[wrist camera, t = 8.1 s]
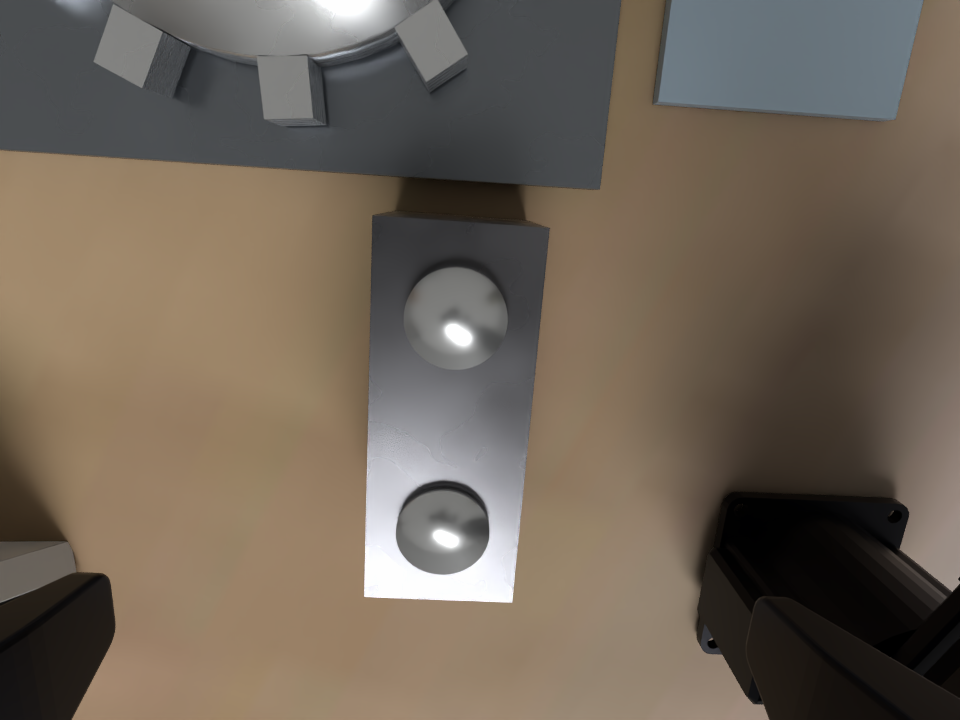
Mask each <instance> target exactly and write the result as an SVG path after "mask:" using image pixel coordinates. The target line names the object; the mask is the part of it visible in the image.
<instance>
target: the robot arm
mask: <svg viewBox="0 0 960 720" xmlns="http://www.w3.org/2000/svg"><path fill="white" fill-rule="evenodd" d="M738 504H743V506H742V508H741V509H739V510H738V511H734V509H735V507H736V506H737V505H738ZM892 511H894V512H893V513H892V515H890V516H889V517H888V515H889V513H890V512H892ZM908 518H909V511H908V509H907V507H905V506H904V505H903V504H901V503H900V502H898V501H897V500H895V499H892V498H875V497H852V496H828V495H805V494H782V493H758V492H733V493H731V494H729V495H727V496H726V497H725V498H724V500H723V503H722V506H721V511H720V517H719V522H718V527H717V532H716V537H715V542H714V548H712V549H711V551H710V552H709V553H708V557H707V562H706V567H705V572H704V577H703V583H702V588H701V593H700V598H699V604H698V613H699V614H700V620H699V625H698V630H697V640H698V642H699V644H700V646H701V648H702V650H703V651H704V652H706V653H708V654H722V655H723V656H724V658H725V660H726V662H727V663H728V665H729V667H730V669H731V670H732V672H733V674H734V676H735V677H736V679H737V681H738V683H739V685H740V686H741V688H742V690H743V692H744V693H745V695H746V696H747V697H748V699H749V700H750V701H751V702H752V703H753V704H764V707H765V709H766V712H767V715H768V717H769V720H960V584H959V585H958V586H957V587H956V589H955V590H954V591H953V592H952V591H951V590H949V589H948V588H947V587H946V586H944V585H943V584H942V583H941V582H939V581H938V580H937V579H936V578H934V577H933V576H932V575H931V574H929V573H928V572H927V571H926V570H924V569H923V568H922V567H921V566H919V565H918V564H917V563H916V562H914V561H913V560H912V559H911V558H910V557H908V556H907V555H906V554H905V553H903V552H902V551H901V550H900V545H901V542H902V538H903V535H904V531H905V528H906V525H907V521H908ZM958 580H959V581H960V577H959V579H958ZM114 633H115V615H114V607H113V599H112V591H111V584H110V580H109V578H108V577H107V576H106V575H105V574H103V573H86V572H75V573H71V574H68V575H66V576H64V577H62V578H60V579H58V580H55V581H53V582H51V583H49V584H47V585H45V586H42V587H40V588H38V589H36V590H34V591H31V592H29V593H27V594H25V595H23V596H21V597H18V598H16V599H14V600H12V601H10V602H8V603H5V604H3V605H1V606H0V720H72V718H73V716H74V714H75V712H76V710H77V708H78V706H79V705H80V703H81V701H82V699H83V697H84V695H85V693H86V691H87V689H88V687H89V685H90V683H91V682H92V680H93V678H94V676H95V674H96V672H97V670H98V668H99V666H100V664H101V662H102V660H103V659H104V657H105V655H106V653H107V651H108V649H109V647H110V645H111V643H112V640H113V637H114ZM711 638H713V640H711V641H708V640H709V639H711Z"/></svg>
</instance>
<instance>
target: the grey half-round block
mask: <svg viewBox="0 0 960 720" xmlns="http://www.w3.org/2000/svg"><path fill="white" fill-rule="evenodd" d="M75 572H76V567H75V561H74V555H73V551H72V549H71V547H70V545H69V543H68V541H24V542H0V606H1V605H3V604H5V603H8V602H10V601H12V600H14V599H16V598H18V597H21V596H23V595H25V594H27V593H29V592H31V591H34V590H36V589H38V588H40V587H42V586H45V585H47V584H49V583H51V582H53V581H55V580H58V579H60V578H62V577H64V576H66V575H68V574H71V573H75Z"/></svg>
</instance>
